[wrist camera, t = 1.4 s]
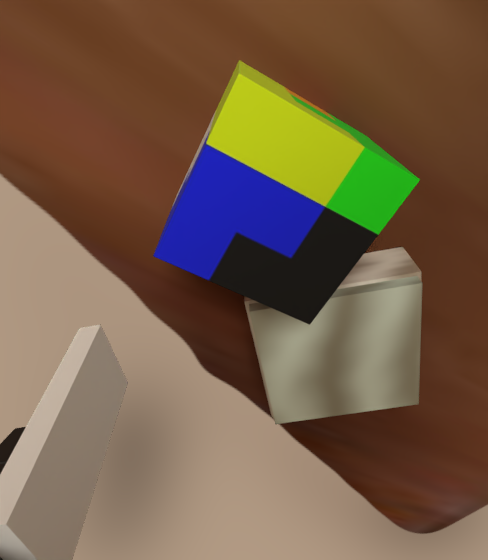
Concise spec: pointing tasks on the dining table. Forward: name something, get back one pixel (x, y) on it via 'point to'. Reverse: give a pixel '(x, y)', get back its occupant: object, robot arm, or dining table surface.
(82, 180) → the dining table surface
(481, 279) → the dining table surface
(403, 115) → the dining table surface
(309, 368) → the plinth
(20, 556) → the robot arm
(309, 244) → the puzzle toy
